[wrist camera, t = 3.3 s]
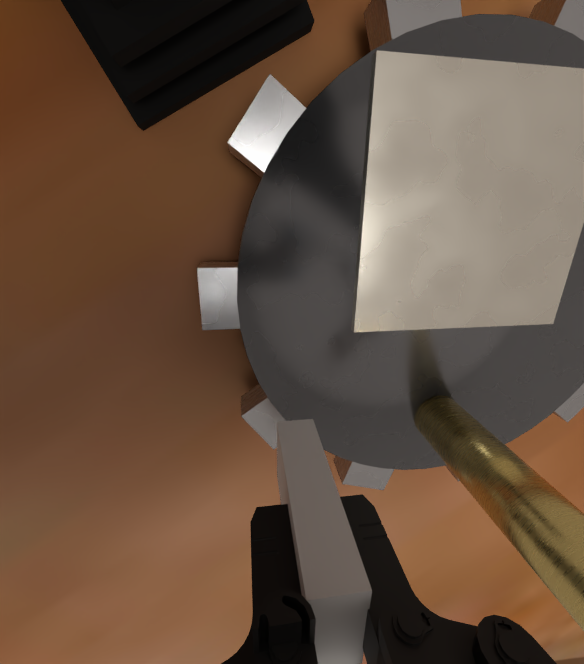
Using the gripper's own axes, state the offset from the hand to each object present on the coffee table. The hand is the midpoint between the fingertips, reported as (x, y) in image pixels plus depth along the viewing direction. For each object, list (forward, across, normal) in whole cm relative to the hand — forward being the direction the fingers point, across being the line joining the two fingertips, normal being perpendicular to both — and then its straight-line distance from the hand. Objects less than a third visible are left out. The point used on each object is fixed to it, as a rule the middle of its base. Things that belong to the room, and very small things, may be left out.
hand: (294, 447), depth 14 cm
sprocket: (+4, +8, +6) cm, 11 cm away
